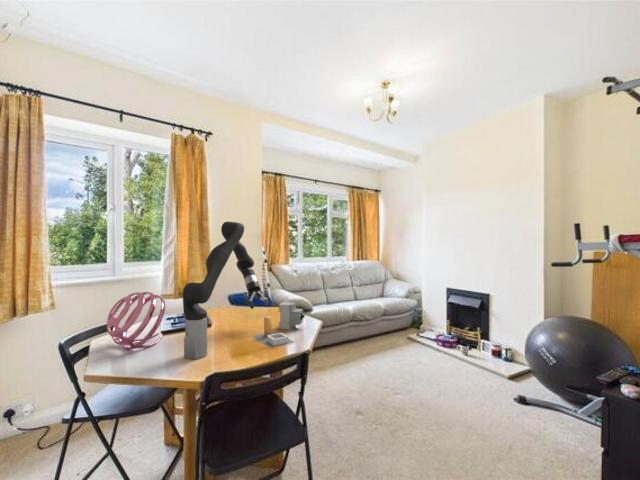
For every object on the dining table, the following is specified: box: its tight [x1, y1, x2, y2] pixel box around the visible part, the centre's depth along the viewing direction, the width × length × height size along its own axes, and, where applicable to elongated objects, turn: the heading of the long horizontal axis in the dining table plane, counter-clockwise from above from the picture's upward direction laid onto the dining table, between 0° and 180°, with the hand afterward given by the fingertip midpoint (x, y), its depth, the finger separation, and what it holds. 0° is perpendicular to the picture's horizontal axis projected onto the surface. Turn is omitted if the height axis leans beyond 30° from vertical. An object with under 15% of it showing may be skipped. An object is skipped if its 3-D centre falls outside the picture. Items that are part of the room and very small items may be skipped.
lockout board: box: [252, 330, 294, 349], centre depth 160 cm, size 22×14×4 cm, turn 34°
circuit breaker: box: [278, 301, 306, 330], centre depth 181 cm, size 8×14×15 cm, turn 78°
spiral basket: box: [106, 291, 166, 350], centre depth 154 cm, size 28×28×27 cm
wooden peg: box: [263, 316, 273, 337], centre depth 165 cm, size 4×4×10 cm
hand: (260, 307), depth 174 cm, fingers open, 8 cm apart
